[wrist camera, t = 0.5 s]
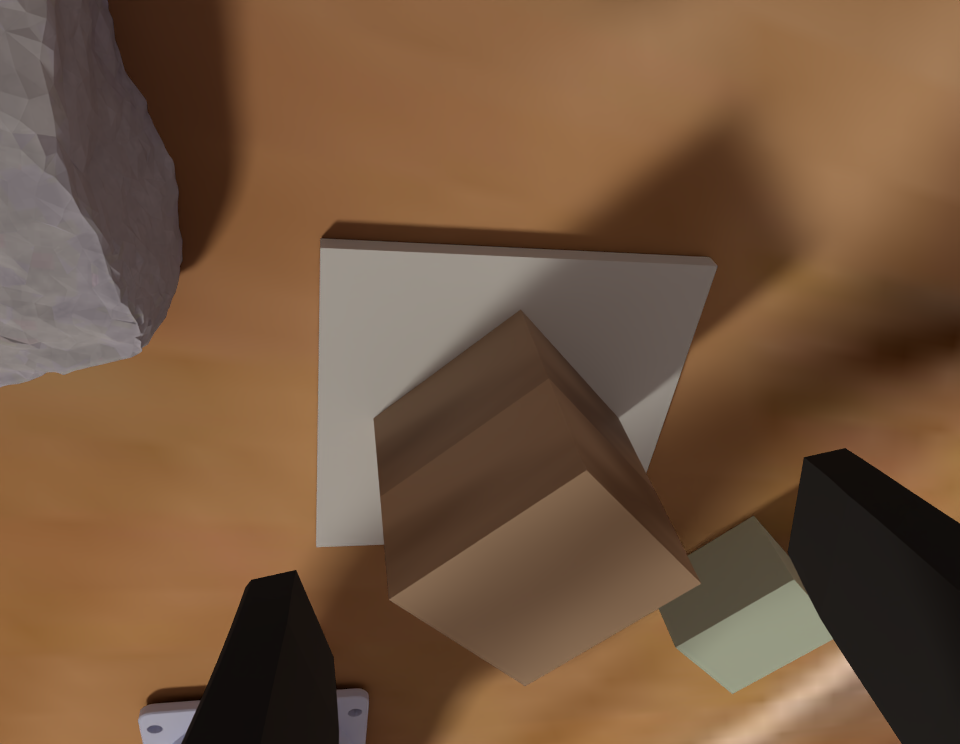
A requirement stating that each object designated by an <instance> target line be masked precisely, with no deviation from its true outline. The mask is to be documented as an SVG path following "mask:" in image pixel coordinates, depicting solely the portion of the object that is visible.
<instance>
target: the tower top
mask: <svg viewBox="0 0 960 744" xmlns="http://www.w3.org/2000/svg"><path fill="white" fill-rule="evenodd" d="M380 502H381V514H382V526H383V537H384V549H385V561H386V573H387V584H388V596H389V600H390V601H392V602H393V603H395V604H396V605H398V606H399V607H401V608H403V609H404V610H406V611H407V612H409V613H410V614H412V615H414V616H415V617H417V618H418V619H420V620H422V621H423V622H425V623H426V624H428V625H429V626H431V627H433V628H434V629H436V630H437V631H439V632H440V633H442V634H444V635H445V636H447V637H448V638H450V639H452V640H453V641H455V642H456V643H458V644H459V645H461V646H463V647H464V648H466V649H467V650H469V651H470V652H472V653H474V654H475V655H477V656H478V657H480V658H482V659H483V660H485V661H486V662H488V663H489V664H491V665H493V666H494V667H496V668H497V669H499V670H500V671H502V672H504V673H505V674H507V675H508V676H510V677H512V678H513V679H515V680H516V681H518V682H519V683H521V684H523V685H524V686H526V685H528V684H530V683H532V682H533V681H535V680H537V679H538V678H540V677H542V676H544V675H545V674H547V673H549V672H550V671H552V670H554V669H556V668H557V667H559V666H561V665H562V664H564V663H566V662H568V661H569V660H571V659H573V658H574V657H576V656H578V655H580V654H581V653H583V652H585V651H586V650H588V649H590V648H592V647H593V646H595V645H597V644H598V643H600V642H602V641H604V640H605V639H607V638H609V637H610V636H612V635H614V634H616V633H617V632H619V631H621V630H623V629H624V628H626V627H628V626H629V625H631V624H633V623H635V622H636V621H638V620H640V619H641V618H643V617H645V616H647V615H648V614H650V613H652V612H653V611H655V610H657V609H659V608H660V607H662V606H664V605H665V604H667V603H669V602H671V601H672V600H674V599H676V598H677V597H679V596H681V595H683V594H684V593H686V592H688V591H689V590H691V589H693V588H695V587H696V586H698V585H700V584H701V582H700V580H699V578H698V576H697V574H696V572H695V570H694V568H693V566H692V564H691V562H690V560H689V558H688V556H687V554H686V552H685V550H684V548H683V546H682V544H681V542H680V540H679V538H678V536H677V534H676V532H675V530H674V528H673V526H672V524H671V522H670V520H669V518H668V516H667V514H666V512H665V510H664V508H663V506H662V504H661V502H660V500H659V498H658V496H657V494H656V492H655V490H654V489H653V488H652V487H651V486H650V485H649V484H648V483H647V482H646V481H645V480H644V479H643V478H642V476H641V475H640V474H639V473H638V472H637V471H636V470H635V469H634V468H633V467H632V466H631V465H630V464H629V463H628V462H627V461H626V459H625V458H624V457H623V456H622V455H621V454H620V453H619V452H618V451H617V450H616V449H615V448H614V447H613V446H612V445H611V444H610V443H609V441H608V440H607V439H606V438H605V437H604V436H603V435H602V434H601V433H600V432H599V431H598V430H597V429H596V428H595V427H594V426H593V425H592V423H591V422H590V421H589V420H588V419H587V418H586V417H585V416H584V415H583V414H582V413H581V412H580V411H579V410H578V409H577V408H576V406H575V405H574V404H573V403H572V402H571V401H570V400H569V399H568V398H567V397H566V396H565V395H564V394H563V393H562V392H561V391H560V390H559V388H558V387H557V386H556V385H555V384H554V383H553V382H552V381H551V380H550V379H547V380H546V381H544V382H543V383H542V384H540V385H539V386H537V387H536V388H534V389H533V390H532V391H530V392H529V393H527V394H526V395H525V396H523V397H522V398H520V399H519V400H517V401H516V402H515V403H513V404H512V405H510V406H509V407H507V408H506V409H505V410H503V411H502V412H500V413H499V414H497V415H496V416H495V417H493V418H492V419H490V420H489V421H488V422H486V423H485V424H483V425H482V426H480V427H479V428H478V429H476V430H475V431H473V432H472V433H470V434H469V435H468V436H466V437H465V438H463V439H462V440H460V441H459V442H458V443H456V444H455V445H453V446H452V447H450V448H449V449H448V450H446V451H445V452H443V453H442V454H441V455H439V456H438V457H436V458H435V459H433V460H432V461H431V462H429V463H428V464H426V465H425V466H423V467H422V468H421V469H419V470H418V471H416V472H415V473H413V474H412V475H411V476H409V477H408V478H406V479H405V480H404V481H402V482H401V483H399V484H398V485H396V486H395V487H394V488H392V489H391V490H389V491H388V492H386V493H385V494H384V495H382V496H381V497H380Z"/></svg>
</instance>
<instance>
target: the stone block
mask: <svg viewBox="0 0 960 744" xmlns="http://www.w3.org/2000/svg"><path fill="white" fill-rule="evenodd" d="M178 196H179V191H178V185H177V182H176V179H175V166H174V162H173V160H172V158H171V157H170V156H169V154H168V152H167V151H166V149H165V146H164V144H163V141H162V140H161V138H160V136H159V134H158V132H157V130H156V128H155V127H154V125H153V123H152V119H151V117H150V115H149V114H148V112H147V102H146V99H145V98H144V96H143V95H142V94H141V93H140V91H139V90H138V89H137V87H136V86H135V85H134V83H133V82H132V81H131V79H130V78H129V77H128V75H127V74H126V72H125V69H124V66H123V62H122V58H121V55H120V51H119V48H118V46H117V44H116V41H115V34H114V25H113V18H112V16H111V14H110V12H109V9H108V0H0V387H2V386H5V385H11V384H19V383H23V382H27V381H30V380H32V379H35V378H37V377H40V376H42V375H43V374H45V373H46V372H57V373H60V374H63V375H65V374H67V373H70V372H72V371H75V370H79V369H84V368H88V367H92V366H97V365H101V364H105V363H109V362H113V361H117V360H121V359H126V358H131V357H133V356H135V355H137V354H139V353H140V352H141V351H142V347H144V346H146V345H147V344H148V343H149V341H150V339H151V338H152V336H153V334H154V332H155V331H156V330H157V328H158V327H159V326H160V324H161V323H162V322H163V320H164V319H165V318H166V315H167V311H168V309H169V307H170V304H171V300H172V298H173V296H174V294H175V292H176V288H177V285H178V281H179V274H180V264H181V262H182V261H183V259H182V237H181V233H180V229H179V219H178Z"/></svg>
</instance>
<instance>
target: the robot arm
mask: <svg viewBox="0 0 960 744" xmlns="http://www.w3.org/2000/svg"><path fill="white" fill-rule="evenodd" d="M788 554H789V557H790V559H791V561H792V563H793V565H794V567H795V569H796V571H797V573H798V575H799V578H800V580H801V582H802V584H803V586H804V588H805V590H806V592H807V594H808V596H809V598H810V600H811V602H812V604H813V606H814V608H815V609H816V611H817V613H818V615H819V617H820V619H821V621H822V622H823V624H824V625H825V627H826V629H827V630H828V632H829V633H830V635H831V636H832V638H833V640H834V641H835V643H836V644H837V646H838V647H839V649H840V650H841V652H842V653H843V655H844V656H845V658H846V660H847V661H848V663H849V664H850V666H851V667H852V669H853V670H854V672H855V673H856V675H857V676H858V678H859V679H860V681H861V682H862V684H863V686H864V687H865V689H866V690H867V692H868V693H869V695H870V696H871V698H872V699H873V701H874V702H875V704H876V705H877V707H878V708H879V710H880V711H881V713H882V714H883V716H884V717H885V719H886V720H887V722H888V723H889V725H890V726H891V728H892V730H893V731H894V733H895V734H896V736H897V737H898V739H899V740H900V742H901V743H902V744H960V523H958V522H957V521H955V520H954V519H952V518H951V517H949V516H947V515H946V514H944V513H943V512H941V511H940V510H938V509H937V508H935V507H934V506H932V505H931V504H929V503H928V502H926V501H925V500H923V499H922V498H920V497H919V496H917V495H916V494H914V493H913V492H911V491H910V490H908V489H907V488H905V487H904V486H902V485H901V484H899V483H898V482H896V481H895V480H893V479H892V478H890V477H889V476H887V475H886V474H884V473H883V472H881V471H880V470H878V469H877V468H875V467H873V466H872V465H870V464H869V463H867V462H866V461H864V460H863V459H861V458H860V457H858V456H857V455H855V454H854V453H852V452H850V451H849V450H847V449H846V448H844V449H839V450H835V451H830V452H826V453H821V454H817V455H812V456H808V457H804V460H803V466H802V472H801V478H800V484H799V489H798V495H797V501H796V507H795V513H794V519H793V525H792V530H791V536H790V542H789V548H788ZM368 708H369V695H368V692H366V691H365V690H363V689H360V688H353V689H340V690H336V680H335V669H334V657H333V654H332V652H331V650H330V648H329V645H328V643H327V641H326V638H325V636H324V634H323V631H322V629H321V627H320V624H319V622H318V620H317V617H316V615H315V613H314V610H313V608H312V606H311V603H310V601H309V599H308V597H307V594H306V592H305V590H304V587H303V585H302V583H301V580H300V578H299V576H298V573H297V571H296V570H294V571H289V572H285V573H280V574H276V575H271V576H267V577H262V578H258V579H253V580H251V581H250V582H249V584H248V585H247V586H246V588H245V590H244V593H243V596H242V599H241V601H240V604H239V607H238V610H237V612H236V615H235V618H234V620H233V623H232V626H231V628H230V631H229V633H228V636H227V638H226V641H225V643H224V646H223V648H222V651H221V653H220V656H219V658H218V661H217V663H216V665H215V668H214V670H213V673H212V675H211V678H210V680H209V682H208V685H207V687H206V689H205V692H204V694H203V696H202V698H201V700H195V701H182V702H169V703H155V704H149V705H147V706H145V707H143V708H142V709H141V710H140V714H139V720H138V723H139V727H140V732H141V736H142V741H143V744H365V743H366V732H367V720H368Z"/></svg>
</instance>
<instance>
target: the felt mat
mask: <svg viewBox="0 0 960 744" xmlns="http://www.w3.org/2000/svg"><path fill="white" fill-rule="evenodd" d="M716 269H717V265H716V264H715V262H714V261H713V260H712V259H711V258H710V257H697V256H676V255H656V254H635V253H614V252H593V251H572V250H552V249H531V248H510V247H489V246H469V245H448V244H427V243H406V242H385V241H365V240H344V239H323V238H320V308H319V379H318V450H317V521H316V547H333V546H361V545H384V537H383V526H382V514H381V502H380V490H379V479H378V467H377V455H376V443H375V432H374V420H373V418H374V417H376V416H377V415H379V414H380V413H381V412H383V411H384V410H385V409H387V408H388V407H389V406H391V405H392V404H393V403H395V402H396V401H397V400H399V399H400V398H402V397H403V396H404V395H406V394H407V393H408V392H410V391H411V390H412V389H414V388H415V387H416V386H418V385H419V384H420V383H422V382H423V381H425V380H426V379H427V378H429V377H430V376H431V375H433V374H434V373H435V372H437V371H438V370H439V369H441V368H442V367H443V366H445V365H446V364H448V363H449V362H450V361H452V360H453V359H454V358H456V357H457V356H458V355H460V354H461V353H462V352H464V351H465V350H466V349H468V348H469V347H471V346H472V345H473V344H475V343H476V342H477V341H479V340H480V339H481V338H483V337H484V336H485V335H487V334H488V333H489V332H491V331H492V330H494V329H495V328H496V327H498V326H499V325H500V324H502V323H503V322H504V321H506V320H507V319H508V318H510V317H511V316H512V315H514V314H515V313H517V312H518V311H519V310H522V311H523V312H524V314H525V315H526V316H527V317H528V318H529V319H530V320H531V321H532V322H533V324H534V325H535V326H536V327H537V328H538V329H539V330H540V331H541V332H542V334H543V335H544V336H545V337H546V338H547V339H548V340H549V341H550V342H551V344H552V345H553V346H554V347H555V348H556V349H557V350H558V351H559V352H560V354H561V355H562V356H563V357H564V358H565V359H566V360H567V361H568V362H569V364H570V365H571V366H572V367H573V368H574V369H575V370H576V371H577V372H578V374H579V375H580V376H581V377H582V378H583V379H584V380H585V381H586V382H587V384H588V385H589V386H590V387H591V388H592V389H593V390H594V391H595V392H596V393H597V395H598V396H599V397H600V398H601V399H602V400H603V401H604V402H605V403H606V405H607V406H608V407H609V408H610V409H611V410H612V411H613V412H614V413H615V415H616V416H617V417H618V418H619V420H620V422H621V424H622V426H623V428H624V430H625V432H626V434H627V436H628V438H629V440H630V442H631V444H632V446H633V448H634V450H635V452H636V454H637V456H638V458H639V460H640V462H641V464H642V466H643V468H644V470H645V472H646V473H647V470H648V467H649V464H650V461H651V458H652V455H653V452H654V449H655V446H656V443H657V441H658V438H659V435H660V432H661V429H662V426H663V423H664V420H665V417H666V414H667V412H668V409H669V406H670V403H671V400H672V397H673V394H674V391H675V388H676V385H677V383H678V380H679V377H680V374H681V371H682V368H683V365H684V362H685V359H686V356H687V354H688V351H689V348H690V345H691V342H692V339H693V336H694V333H695V330H696V327H697V324H698V322H699V319H700V316H701V313H702V310H703V307H704V304H705V301H706V298H707V295H708V293H709V290H710V287H711V284H712V281H713V278H714V275H715V272H716Z"/></svg>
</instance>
